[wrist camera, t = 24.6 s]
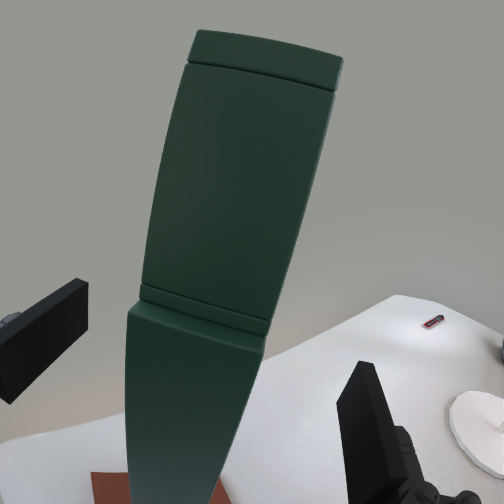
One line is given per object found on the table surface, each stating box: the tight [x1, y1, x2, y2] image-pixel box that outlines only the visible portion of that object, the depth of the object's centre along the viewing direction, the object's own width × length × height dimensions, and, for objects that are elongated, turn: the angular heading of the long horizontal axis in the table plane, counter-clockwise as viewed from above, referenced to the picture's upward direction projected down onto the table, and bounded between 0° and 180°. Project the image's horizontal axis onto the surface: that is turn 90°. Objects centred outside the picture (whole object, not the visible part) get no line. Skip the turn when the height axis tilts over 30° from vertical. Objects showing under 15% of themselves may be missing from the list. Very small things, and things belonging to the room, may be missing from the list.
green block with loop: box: [125, 30, 344, 504], centre depth 11 cm, size 3×6×25 cm, turn 174°
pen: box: [424, 315, 444, 327], centre depth 64 cm, size 2×14×1 cm, turn 127°
